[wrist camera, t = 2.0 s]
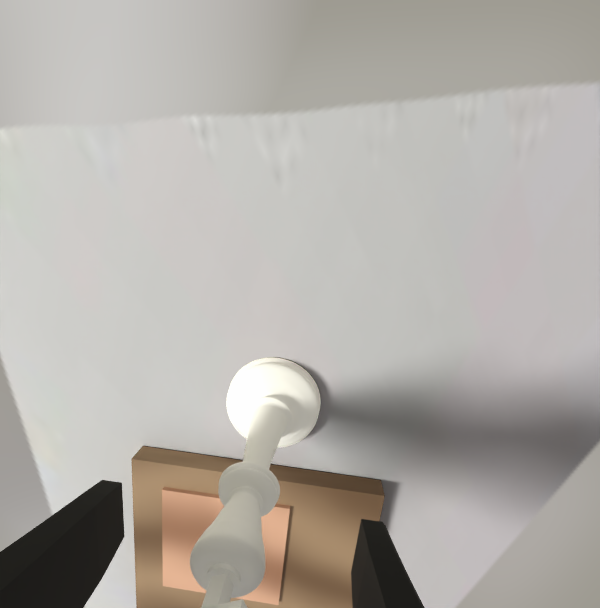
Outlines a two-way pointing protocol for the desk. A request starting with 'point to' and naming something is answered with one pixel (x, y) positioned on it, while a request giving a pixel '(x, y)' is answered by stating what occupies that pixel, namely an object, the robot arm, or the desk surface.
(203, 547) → the chess piece
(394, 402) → the desk surface
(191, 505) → the walnut board
